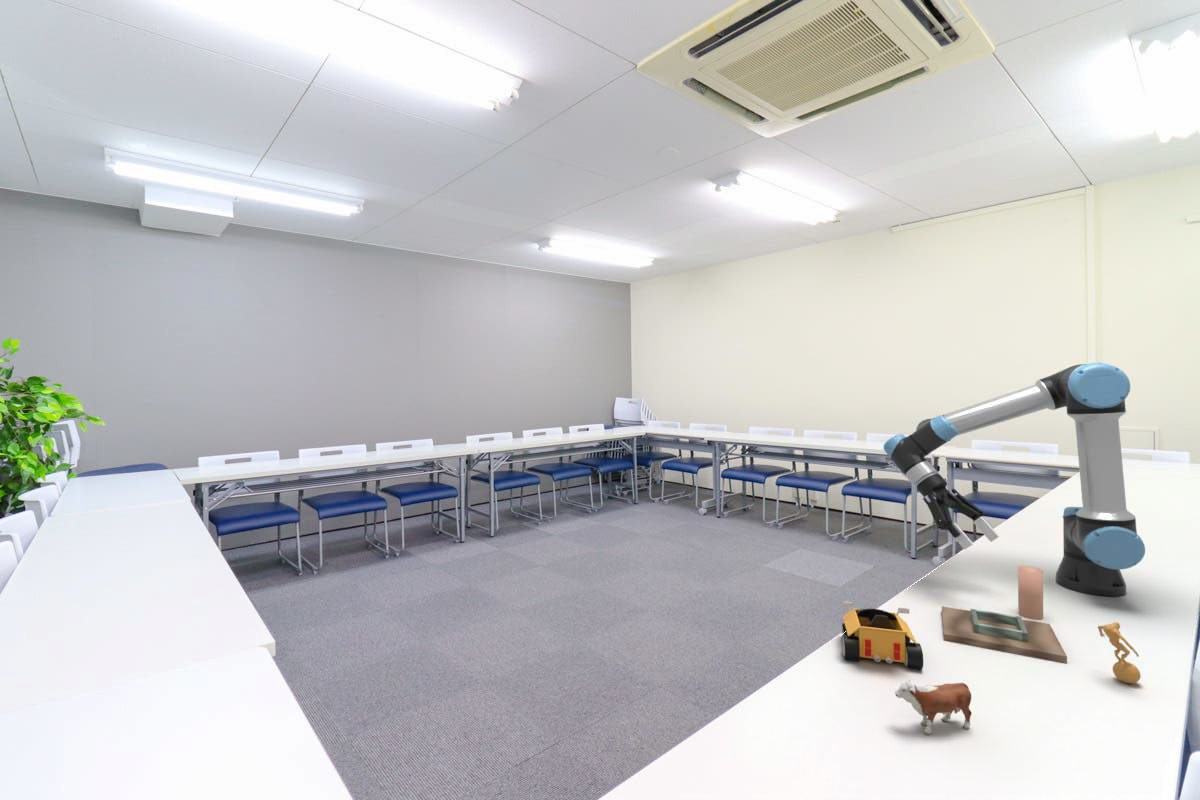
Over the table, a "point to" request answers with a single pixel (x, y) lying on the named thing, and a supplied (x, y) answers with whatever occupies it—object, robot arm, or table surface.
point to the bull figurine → (937, 701)
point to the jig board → (1002, 633)
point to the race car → (879, 637)
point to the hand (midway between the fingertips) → (982, 542)
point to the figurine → (1121, 668)
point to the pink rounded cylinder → (1030, 592)
